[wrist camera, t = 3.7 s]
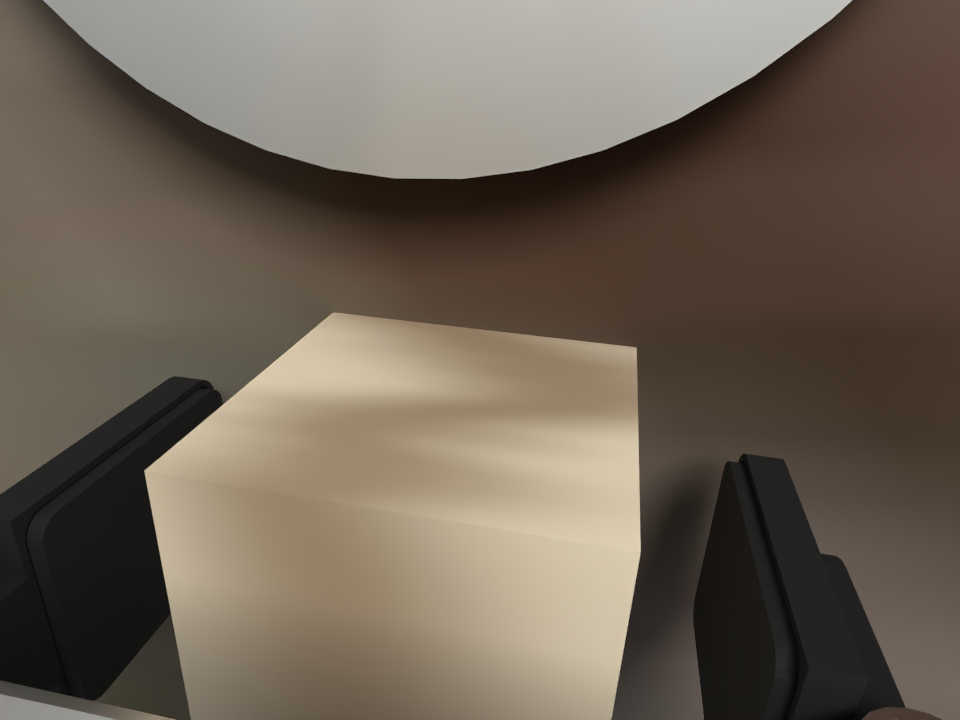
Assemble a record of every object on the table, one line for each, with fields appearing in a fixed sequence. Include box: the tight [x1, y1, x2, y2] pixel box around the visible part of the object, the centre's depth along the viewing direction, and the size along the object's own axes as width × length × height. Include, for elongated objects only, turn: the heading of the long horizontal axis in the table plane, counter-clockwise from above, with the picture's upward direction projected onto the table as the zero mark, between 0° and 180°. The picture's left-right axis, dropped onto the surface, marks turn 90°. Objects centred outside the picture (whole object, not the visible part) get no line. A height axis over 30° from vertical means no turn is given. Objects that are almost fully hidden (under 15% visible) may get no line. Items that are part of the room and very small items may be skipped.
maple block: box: [144, 313, 641, 720], centre depth 10 cm, size 5×5×5 cm
